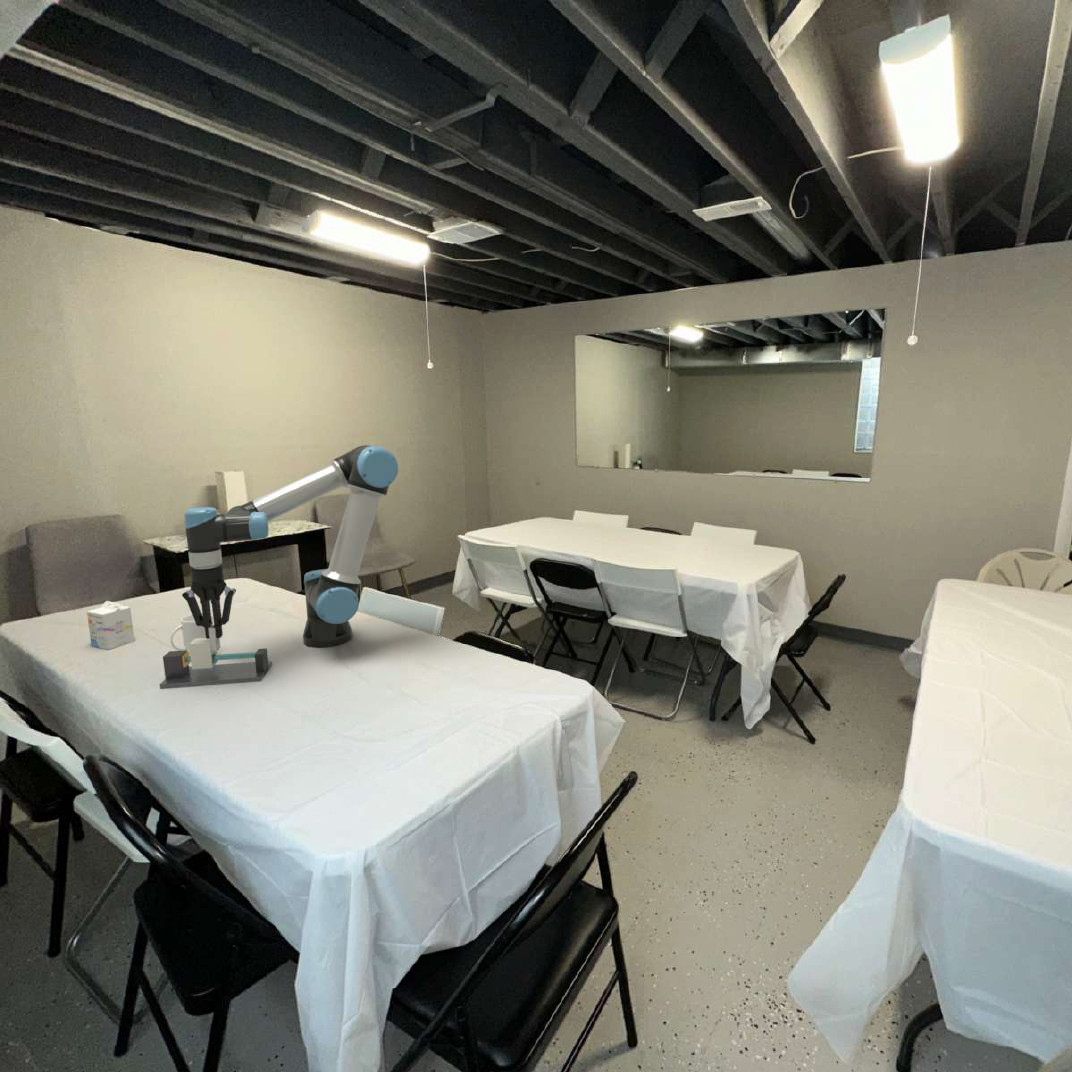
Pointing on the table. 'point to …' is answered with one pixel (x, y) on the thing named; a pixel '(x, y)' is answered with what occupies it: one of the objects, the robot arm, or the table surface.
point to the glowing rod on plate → (213, 669)
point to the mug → (189, 632)
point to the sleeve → (201, 654)
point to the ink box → (110, 626)
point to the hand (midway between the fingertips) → (215, 648)
